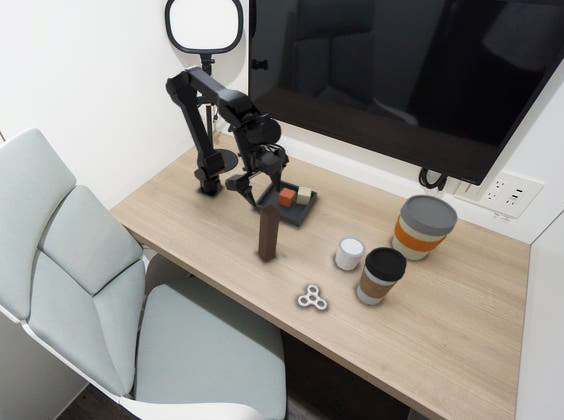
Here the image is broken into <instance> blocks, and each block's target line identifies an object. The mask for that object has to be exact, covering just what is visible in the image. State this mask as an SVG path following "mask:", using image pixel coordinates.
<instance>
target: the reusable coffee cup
mask: <svg viewBox="0 0 564 420" xmlns="http://www.w3.org/2000/svg"><path fill="white" fill-rule="evenodd" d="M399 213H400V214H399V215H398V216H397V220H396V222H395V226H394V230H393V231H394V235H393V237H392V242H391V246H392V248H393V249H395V250H397V251H399V252H400V253H401V254H403V256H404V257H405V258H406V260H411V261H419V260H420V261H421V260H422V259H424V258H425V257H426V256H427V255H428V254H429V253H430V252H432V251H433V250H435V249H436V248H437V247H439V245H440V244H442V242H443V241H444V240H445V239H446V238H447V235H449V234H450V233H452V232H453V230H454V229H455V226H456V224H457V223H458V219H459V218H458V213H457V211H456V209H455V208H454V207H453V206H452V205H451V204H449V203H448V202H446V201H445V200H443V199H441V198H439V197H436V196H433V195H430V194H429V195H428V194H415V195H412V196H409V198H407V199H406V201H405V202H404V204H403V205H402V206H401V208H400V212H399Z"/></svg>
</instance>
